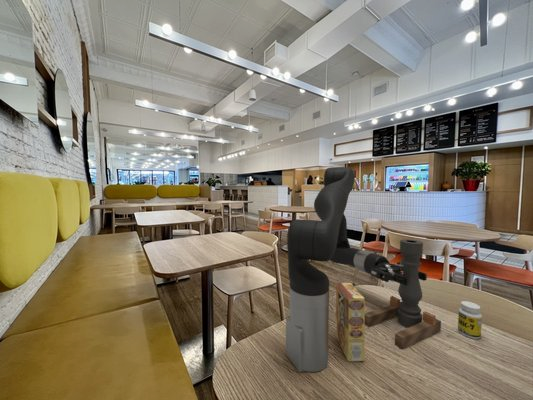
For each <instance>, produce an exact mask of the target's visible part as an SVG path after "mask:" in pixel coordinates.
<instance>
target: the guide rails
mask: <svg viewBox="0 0 533 400" xmlns="http://www.w3.org/2000/svg"><path fill="white" fill-rule="evenodd" d="M401 302H402V301H401V298H398V297H396V296H394V295H391V296H389V305H386V306H382V307H380V308H376V309H373V310H370V311H367V312H365V326H366V327H368V328H370V327H373V326H375V325H378V324H380V323H384V322H386V321H389V320H392V319H394V318H398V308H399V304H400V303H401ZM441 326H442V320H440V319H438V318H437V317H436V315H434V314H432V313H431V312H428V311H423V312H422V322H421V323H418V324H416V325H414V326H411V327H409V328H407V327H406V328H404V329H401V330H400V331H397V332H395V333H394V345H395V346H397V347H398V348H399V349H401V350H405V349H407V348H408V347H410V346H412V345H415V344H417V343H419V342H421V341H423V340H425V339H427V338H429V337H432V336H433V335H435V334H438V333H440V332H441V331H442V327H441Z"/></svg>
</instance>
